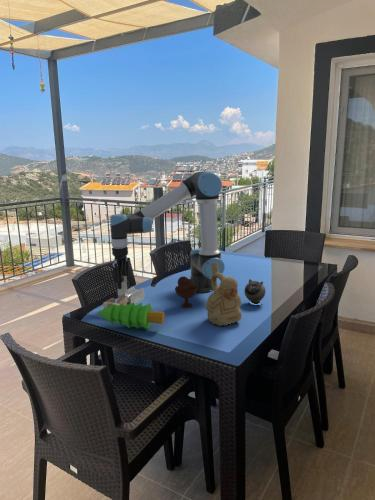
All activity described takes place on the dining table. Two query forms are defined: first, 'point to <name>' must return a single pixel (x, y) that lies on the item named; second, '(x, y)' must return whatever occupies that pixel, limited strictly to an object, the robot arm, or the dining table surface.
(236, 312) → the ceramic vessel
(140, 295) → the channel
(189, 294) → the ice cream bowl
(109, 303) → the socket
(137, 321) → the decorative tree
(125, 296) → the shiny silver metal piece
